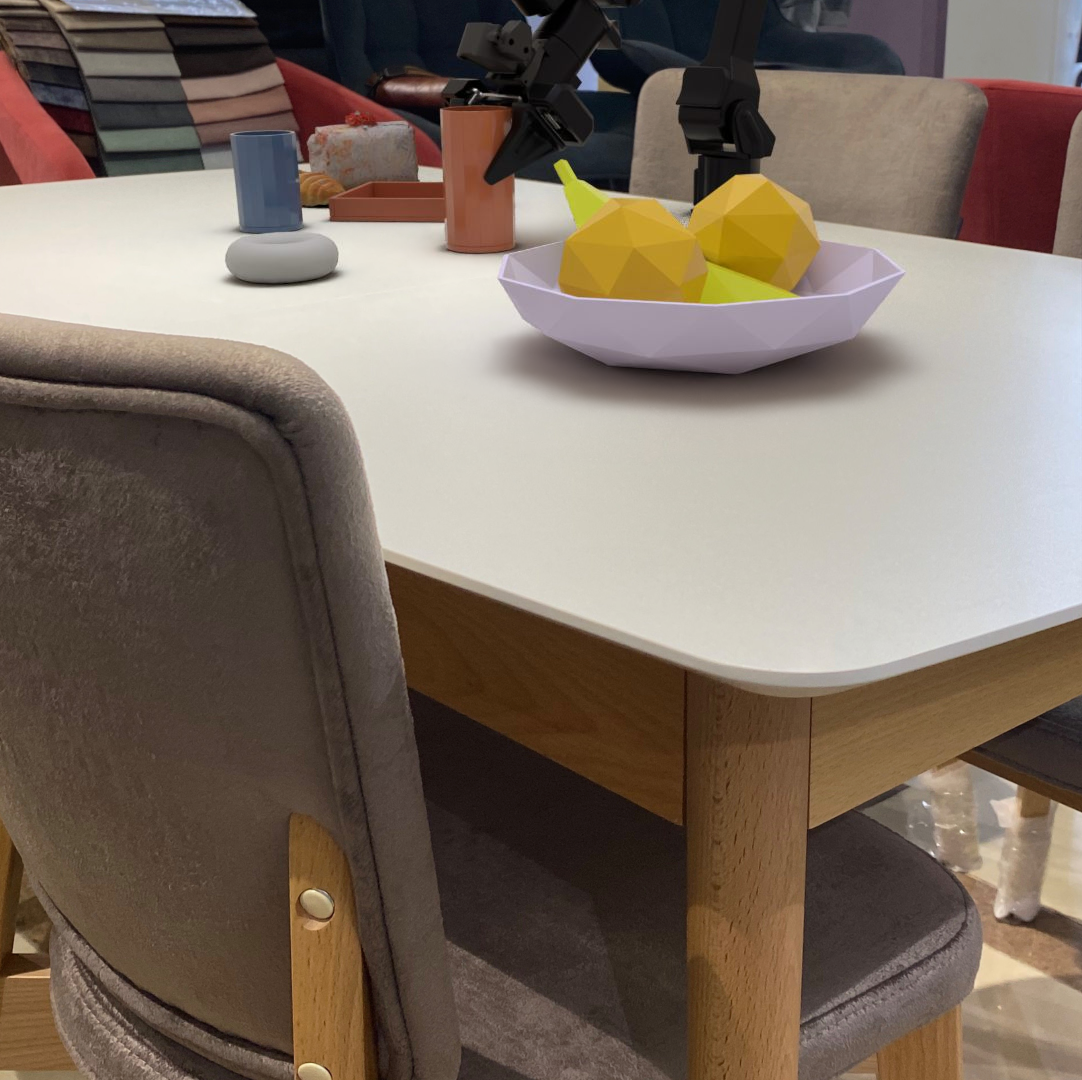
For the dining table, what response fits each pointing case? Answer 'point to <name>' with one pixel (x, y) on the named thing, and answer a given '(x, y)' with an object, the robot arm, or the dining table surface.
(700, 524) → the dining table surface
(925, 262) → the dining table surface
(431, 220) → the tray
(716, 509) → the dining table surface
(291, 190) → the slate cup
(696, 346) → the fruit bowl
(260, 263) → the donut
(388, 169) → the food item
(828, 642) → the dining table surface
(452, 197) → the terracotta cup
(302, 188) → the pastry
